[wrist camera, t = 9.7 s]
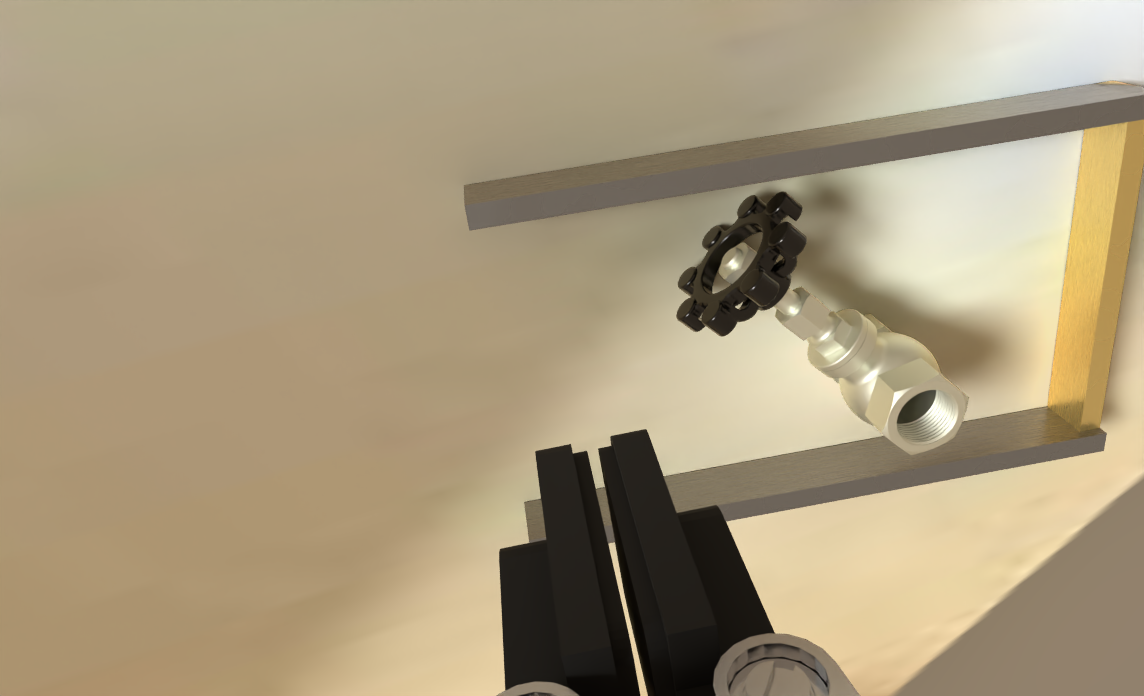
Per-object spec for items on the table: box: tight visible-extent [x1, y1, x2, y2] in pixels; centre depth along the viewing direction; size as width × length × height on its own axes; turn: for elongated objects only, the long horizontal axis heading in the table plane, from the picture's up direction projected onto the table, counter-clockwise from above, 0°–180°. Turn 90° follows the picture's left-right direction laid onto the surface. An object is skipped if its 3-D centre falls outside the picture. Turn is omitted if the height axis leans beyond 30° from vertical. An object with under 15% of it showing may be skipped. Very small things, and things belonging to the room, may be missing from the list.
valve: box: [676, 192, 969, 455], centre depth 36 cm, size 7×7×12 cm
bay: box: [464, 81, 1144, 543], centre depth 38 cm, size 28×17×3 cm, turn 98°
